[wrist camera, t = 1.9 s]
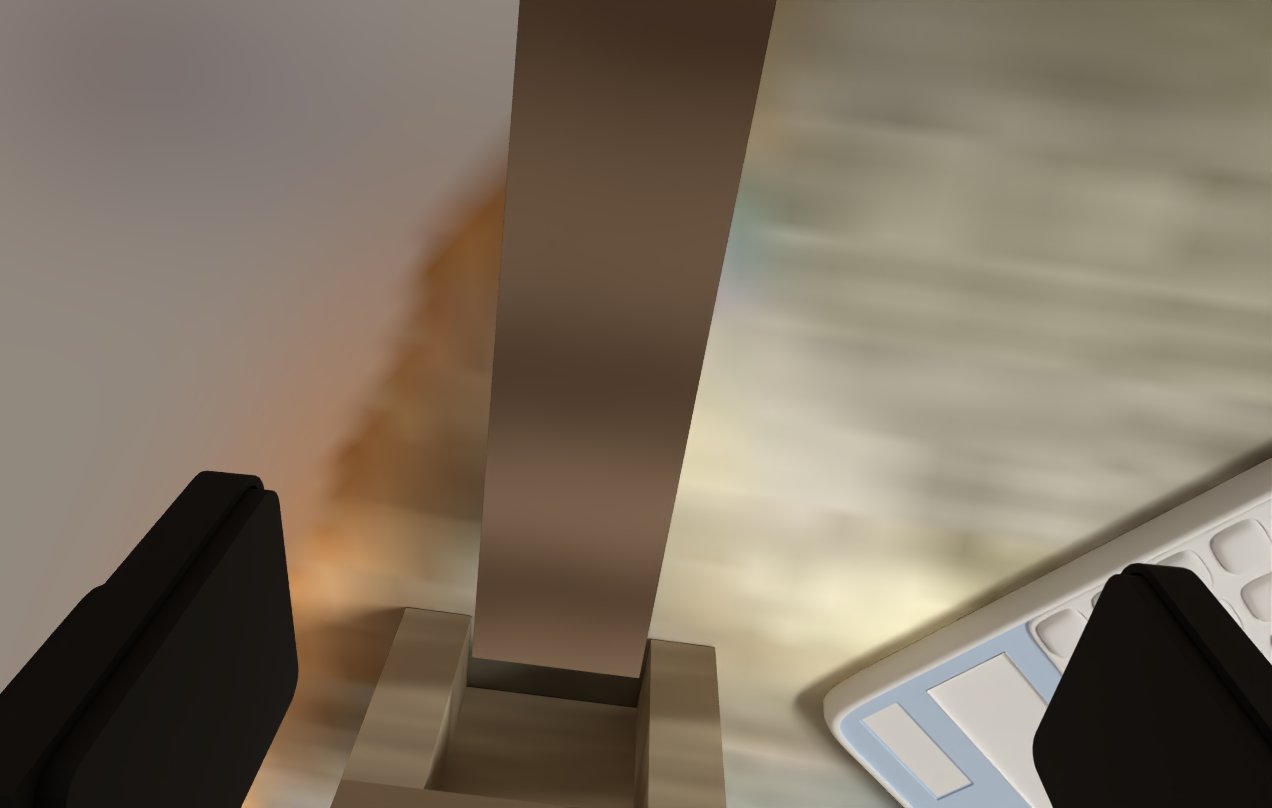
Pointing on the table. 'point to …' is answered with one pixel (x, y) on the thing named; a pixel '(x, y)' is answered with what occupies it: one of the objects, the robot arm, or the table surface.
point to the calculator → (1036, 656)
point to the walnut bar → (605, 311)
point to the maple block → (531, 734)
